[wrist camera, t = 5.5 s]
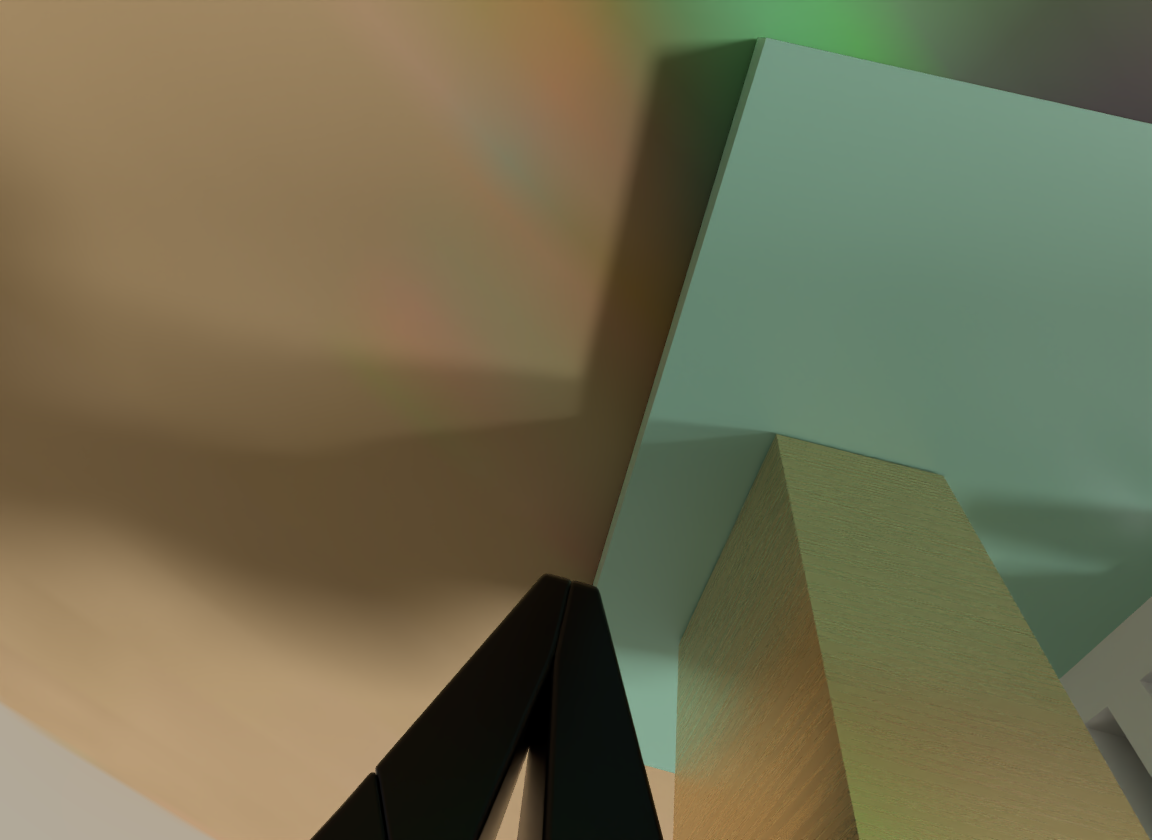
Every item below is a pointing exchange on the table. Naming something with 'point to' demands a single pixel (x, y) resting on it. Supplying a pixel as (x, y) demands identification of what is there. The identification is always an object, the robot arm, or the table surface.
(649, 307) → the table surface
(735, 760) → the block
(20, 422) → the table surface
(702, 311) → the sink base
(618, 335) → the table surface
